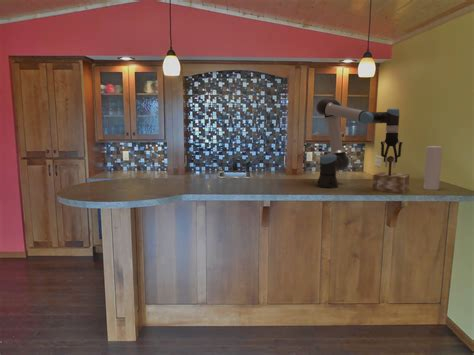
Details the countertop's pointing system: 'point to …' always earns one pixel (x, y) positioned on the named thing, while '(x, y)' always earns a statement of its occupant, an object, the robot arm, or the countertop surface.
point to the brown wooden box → (390, 184)
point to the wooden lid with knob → (395, 175)
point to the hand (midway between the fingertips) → (390, 167)
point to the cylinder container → (432, 167)
